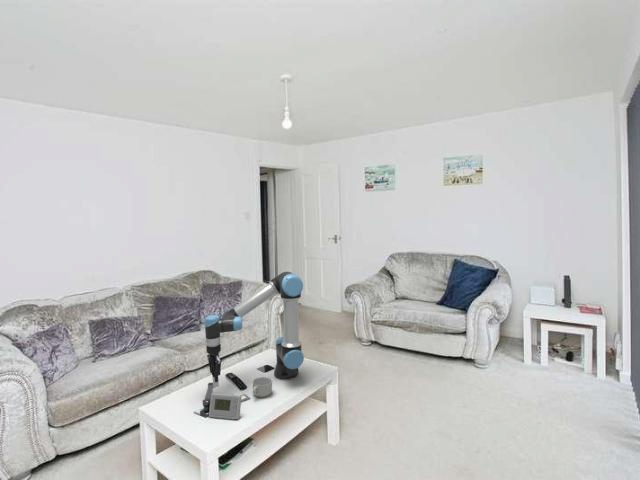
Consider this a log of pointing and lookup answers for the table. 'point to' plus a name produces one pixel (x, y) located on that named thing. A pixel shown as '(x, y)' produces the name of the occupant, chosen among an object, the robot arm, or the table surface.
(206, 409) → the pivot post
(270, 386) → the teacup
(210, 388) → the swing arm
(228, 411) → the digital clock
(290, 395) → the table surface
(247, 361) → the table surface
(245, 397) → the label plate
